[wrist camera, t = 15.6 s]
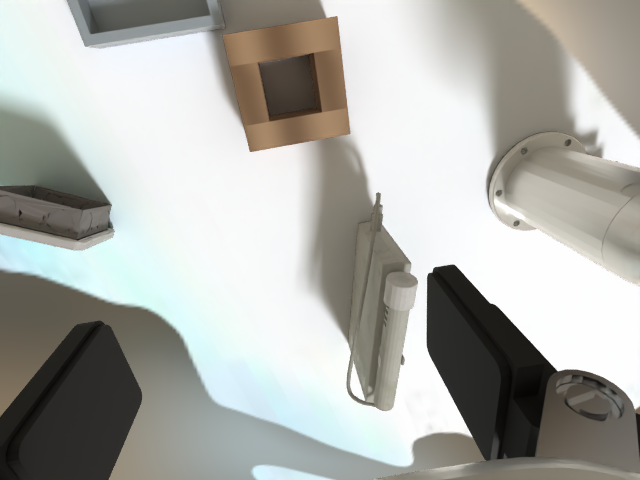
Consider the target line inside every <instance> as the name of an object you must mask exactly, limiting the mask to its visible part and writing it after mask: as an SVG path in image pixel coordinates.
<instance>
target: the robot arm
mask: <svg viewBox="0 0 640 480" xmlns="http://www.w3.org/2000/svg"><path fill="white" fill-rule="evenodd" d="M489 201H490V206H491V209H492V211H493V213H494V214H495V216H496V217H497V218H498V219H499V220H500V221H501V222H502V223H504V224H505V225H507V226H508V227H511V228H513V229H516V230H522V231H527V230H535V229H538V230H540V231H541V232H543V233H545V234H547V235H548V236H550V237H552V238H553V239H555V240H557V241H558V242H560V243H562V244H564V245H565V246H567V247H569V248H570V249H572V250H574V251H576V252H577V253H579V254H581V255H582V256H584V257H586V258H587V259H589V260H591V261H593V262H594V263H596V264H598V265H599V266H601V267H603V268H605V269H606V270H608V271H610V272H611V273H613V274H615V275H617V276H619V277H620V278H622V279H624V280H625V281H628V282H630V283H632V284H634V285H637V286H640V168H638V167H634V166H630V165H626V164H622V163H619V162H617V161H611V160H607V159H603V158H599V157H595V156H591V155H587V154H586V151H585V149H584V147H583V146H582V145H581V143H580V142H579V141H578V140H576V139H575V138H574V137H572V136H569V135H567V134H563V133H558V132H544V133H539V134H536V135H533V136H530V137H528V138H526V139H525V140H523V141H521V142H519V143H518V144H517V145H516V146H514V147H513V148H512V149H511V150H510V151H509V152H508V153H507V154H506V155H505V156H504V157H503V159H502V160H501V161H500V163H499V164H498V166H497V168H496V170H495V172H494V174H493V176H492V180H491V183H490V189H489ZM427 348H428V352H429V355H430V357H431V359H432V361H433V362H434V364H435V366H436V368H437V370H438V372H439V374H440V376H441V378H442V379H443V381H444V383H445V385H446V387H447V389H448V391H449V393H450V395H451V397H452V398H453V400H454V402H455V404H456V406H457V408H458V410H459V412H460V414H461V416H462V417H463V419H464V421H465V423H466V425H467V427H468V429H469V431H470V433H471V434H472V436H473V438H474V440H475V442H476V444H477V446H478V448H479V449H480V451H481V453H482V455H483V457H484V459H485V460H486V461H481V462H475V463H468V464H462V465H456V466H450V467H443V468H437V469H430V470H424V471H417V472H411V473H406V474H400V475H394V476H388V477H382V478H376V479H371V480H640V415H639V414H637V413H635V409H634V406H633V403H632V401H631V400H630V399H629V397H628V396H627V395H626V393H625V392H623V391H622V390H621V389H620V388H619V387H617V386H616V385H615V384H614V383H612V382H610V381H608V380H607V379H605V378H603V377H601V376H598V375H595V374H593V373H590V372H586V371H581V370H562V371H557V370H556V369H555V368H554V367H553V366H552V365H551V364H550V363H549V362H548V360H547V359H546V358H545V357H544V356H543V355H542V354H541V353H540V352H539V351H538V350H537V349H536V348H535V347H534V345H533V344H532V343H531V342H530V341H529V340H528V339H527V338H526V337H525V336H524V335H523V334H522V333H521V331H520V330H519V329H518V328H517V327H516V326H515V325H514V324H513V323H512V322H511V321H510V320H509V319H508V317H507V316H506V315H505V314H504V313H503V312H502V311H501V310H500V309H499V308H498V307H497V306H496V305H494V304H490V303H489V302H488V301H487V300H486V299H485V297H484V296H483V295H482V294H481V293H480V292H479V291H478V290H477V289H476V288H475V286H474V285H473V284H472V283H471V282H470V281H469V280H468V279H467V278H466V277H465V275H464V274H463V273H462V272H461V271H460V270H459V269H458V268H457V267H456V266H455V265H447V266H441V267H435V268H434V269H433V273H429V274H428V276H427ZM141 401H142V392H141V389H140V387H139V385H138V383H137V381H136V379H135V377H134V375H133V373H132V370H131V368H130V366H129V364H128V362H127V360H126V358H125V356H124V354H123V352H122V349H121V348H120V345H119V343H118V341H117V339H116V337H115V335H114V333H113V331H112V329H111V327H110V326H109V325H105V324H104V323H103V322H102V321H95V322H88V323H82V324H78V325H76V326H75V327H74V328H73V329H72V330H71V332H70V333H69V334H68V335H67V336H66V338H65V339H64V340H63V341H62V343H61V344H60V345H59V346H58V347H57V349H56V350H55V351H54V352H53V353H52V355H51V356H50V357H49V358H48V360H47V361H46V362H45V363H44V364H43V366H42V367H41V368H40V369H39V371H38V372H37V373H36V374H35V375H34V377H33V378H32V379H31V380H30V381H29V383H28V384H27V385H26V386H25V388H24V389H23V390H22V391H21V392H20V394H19V395H18V396H17V397H16V399H15V400H14V401H13V402H12V403H11V405H10V406H9V407H8V408H7V409H6V411H5V412H4V413H3V414H2V416H1V417H0V480H108V479H109V477H110V475H111V472H112V470H113V468H114V466H115V463H116V461H117V459H118V456H119V454H120V452H121V449H122V447H123V445H124V442H125V440H126V437H127V435H128V433H129V430H130V428H131V426H132V423H133V421H134V419H135V416H136V414H137V412H138V409H139V407H140V405H141Z"/></svg>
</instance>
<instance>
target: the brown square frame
mask: <svg viewBox="0 0 640 480" xmlns="http://www.w3.org/2000/svg"><path fill="white" fill-rule="evenodd" d="M222 36H223V41H224V45H225V49H226V53H227V57H228V62H229V66H230V70H231V74H232V78H233V83H234V87H235V91H236V95H237V99H238V104H239V108H240V112H241V116H242V120H243V125H244V129H245V133H246V137H247V141H248V146H249V150H250V152H253V151H259V150H264V149H270V148H275V147H281V146H287V145H292V144H298V143H303V142H309V141H314V140H320V139H325V138H331V137H337V136H342V135H348V134H350V127H349V117H348V108H347V99H346V90H345V81H344V72H343V63H342V54H341V45H340V36H339V27H338V18H337V16H336V17H330V18H323V19H317V20H311V21H305V22H299V23H293V24H287V25H280V26H274V27H268V28H262V29H256V30H250V31H244V32H238V33H231V34H225V35H222ZM306 55H309V62H310V69H311V76H312V82H313V89H314V96H315V103H316V108H312V109H306V110H300V111H295V112H289V113H283V114H278V115H272V116H270V115H269V110H268V106H267V101H266V96H265V91H264V86H263V81H262V76H261V71H260V66H259V63H264V62H270V61H276V60H282V59H288V58H294V57H300V56H306Z"/></svg>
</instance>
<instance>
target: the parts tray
mask: <svg viewBox="0 0 640 480" xmlns="http://www.w3.org/2000/svg"><path fill="white" fill-rule="evenodd" d="M67 2H68V4H69V7H70V9H71V12H72V15H73V17H74V20H75V22H76V25H77V27H78V30H79V32H80V35H81V37H82V40H83V43H84V45H85V46H86V47H93V48H106V47H112V46H118V45H124V44H131V43H137V42H143V41H149V40H155V39H161V38H168V37H174V36H180V35H186V34H192V33H198V32H205V31H211V30H217V29H223V28H226V27H225V23H224V19H223V15H222V10H221V6H220V2H219V0H67Z"/></svg>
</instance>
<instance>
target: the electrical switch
mask: <svg viewBox="0 0 640 480" xmlns="http://www.w3.org/2000/svg"><path fill="white" fill-rule="evenodd" d="M34 188H35V191H34ZM58 196H59V197H58ZM60 197H61V198H60ZM63 203H64V204H63ZM90 203H91V204H90ZM62 204H63V205H62ZM71 206H72V207H74V208H72V207H71ZM111 206H112V205H109V204H105V203H101V202H97V201H93V200H89V199H85V198H81V197H77V196H73V195H69V194H65V193H61V192H57V191H53V190H49V189H45V188H41V187H37V186H36V187H35V186H0V234H2V235H6V236H11V237H15V238H20V239H25V240H29V241H34V242H38V243H43V244H48V245H52V246H57V247H61V248H66V249H70V250H85V249H87V248H89V247H92V246H94V245H96V244H99V243H101V242H103V241H106V240H108V239H110V238H112V237H113V235H114V232H115V231H114V229H112V228H108V223H109V214H110V210H111ZM81 207H82V208H81ZM80 208H81V210H80Z"/></svg>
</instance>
